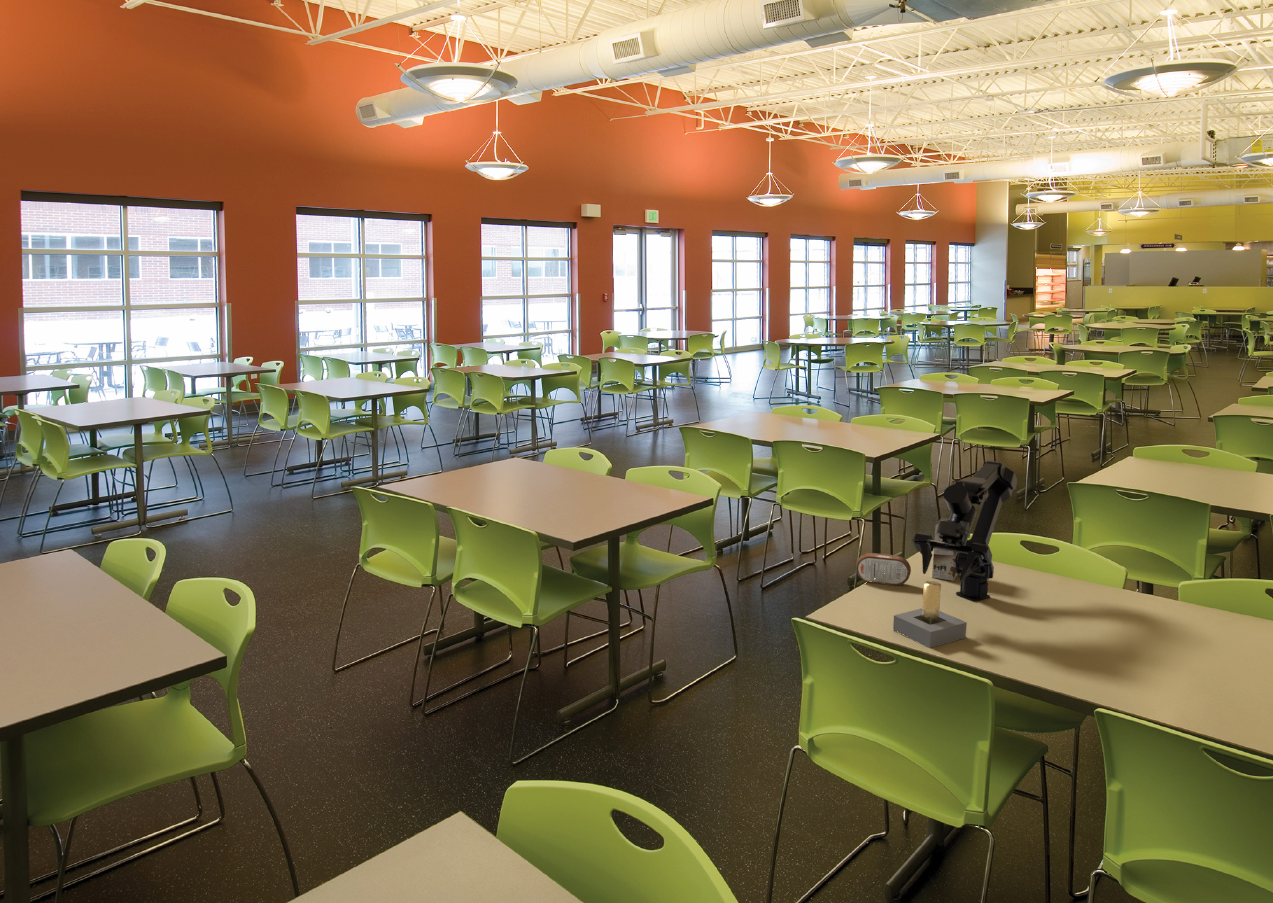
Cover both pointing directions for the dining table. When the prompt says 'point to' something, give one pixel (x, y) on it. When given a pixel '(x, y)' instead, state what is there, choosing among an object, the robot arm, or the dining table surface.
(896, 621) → the dock block
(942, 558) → the coffee box
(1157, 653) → the dining table surface
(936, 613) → the peg
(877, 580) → the tin
